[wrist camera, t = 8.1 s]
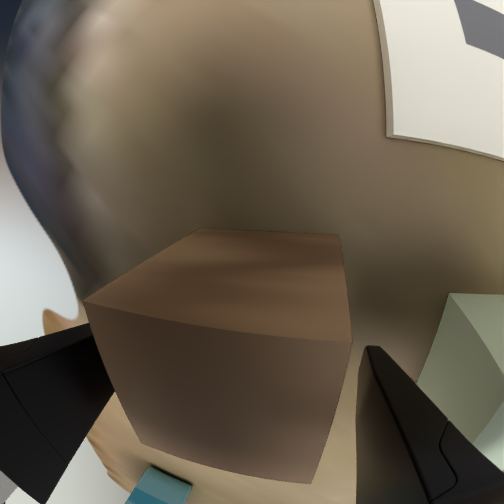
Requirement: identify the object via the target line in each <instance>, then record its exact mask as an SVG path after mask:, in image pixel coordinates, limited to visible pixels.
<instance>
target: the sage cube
mask: <svg viewBox="0 0 504 504" xmlns="http://www.w3.org/2000/svg"><path fill="white" fill-rule="evenodd" d="M416 384H417V385H418V387H419V388H420V389H421V390H422V391H423V392H424V393H425V394H426V395H427V396H428V397H429V398H430V399H431V400H432V402H433V403H434V404H435V405H436V406H437V407H438V408H439V409H440V410H441V411H442V412H443V414H444V415H445V416H446V417H447V418H448V421H449V420H450V421H451V422H452V423H453V424H454V425H455V427H456V428H457V429H458V430H459V431H460V432H461V433H462V434H463V435H464V436H465V437H466V438H467V439H468V440H469V441H470V442H471V443H472V444H473V445H474V446H475V447H476V448H477V449H478V450H479V451H480V452H481V453H482V454H483V455H485V456H486V457H487V458H488V459H489V460H490V461H491V462H492V463H494V464H495V465H496V466H497V467H498V468H499V469H500V470H504V295H495V294H463V293H449V294H448V298H447V302H446V305H445V308H444V312H443V315H442V318H441V321H440V324H439V327H438V330H437V333H436V336H435V339H434V342H433V344H432V347H431V350H430V352H429V355H428V357H427V360H426V362H425V365H424V367H423V369H422V372H421V374H420V376H419V379H418V381H417V383H416Z"/></svg>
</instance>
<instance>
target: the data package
mask: <svg viewBox="0 0 504 504" xmlns="http://www.w3.org/2000/svg"><path fill="white" fill-rule="evenodd" d="M191 489H192V486H191V485H189V484H187V483H184V482H182V481H180V480H177V479H175V478H173V477H171V476H169V475H167V474H165V473H163V472H161V471H159V470H157V469H155V468H153V467H149V468H148V469H147V470H146V471H145V473H144V474H143V476H142V477H141V479H140V481H139V482H138V484H137V485H136V487H135V488H134V490H133V492H132V493H131V495H130V496H129V498H128V499H127V501H126V502H125V504H184V503H185V501H186V499H187V497H188V495H189V493H190V491H191Z"/></svg>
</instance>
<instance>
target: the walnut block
mask: <svg viewBox="0 0 504 504" xmlns="http://www.w3.org/2000/svg"><path fill="white" fill-rule="evenodd" d="M83 304H84V307H85V311H86V314H87V317H88V321H89V324H90V327H91V330H92V333H93V336H94V339H95V342H96V345H97V347H98V350H99V353H100V355H101V358H102V361H103V363H104V366H105V368H106V371H107V373H108V376H109V378H110V380H111V383H112V385H113V387H114V390H115V392H116V394H117V396H118V399H119V401H120V403H121V405H122V407H123V409H124V411H125V413H126V415H127V417H128V419H129V421H130V423H131V425H132V427H133V429H134V431H135V432H136V434H137V436H138V438H139V440H140V442H141V443H142V444H145V445H147V446H150V447H152V448H155V449H157V450H160V451H163V452H165V453H168V454H171V455H174V456H177V457H180V458H183V459H186V460H189V461H192V462H195V463H199V464H202V465H206V466H209V467H213V468H217V469H221V470H225V471H229V472H233V473H238V474H243V475H248V476H253V477H258V478H264V479H271V480H278V481H285V482H294V483H304V484H311V483H312V480H313V478H314V475H315V472H316V470H317V467H318V464H319V461H320V459H321V456H322V453H323V450H324V447H325V444H326V441H327V438H328V435H329V432H330V428H331V425H332V422H333V419H334V415H335V412H336V408H337V405H338V401H339V397H340V393H341V390H342V386H343V382H344V378H345V374H346V369H347V365H348V361H349V356H350V351H351V347H352V331H351V321H350V311H349V302H348V294H347V286H346V278H345V271H344V264H343V258H342V251H341V245H340V239H339V235H334V234H316V233H297V232H276V231H253V230H227V229H198V230H196V231H194V232H193V233H191V234H189V235H187V236H186V237H184V238H182V239H181V240H179V241H177V242H176V243H174V244H172V245H170V246H169V247H167V248H165V249H164V250H162V251H160V252H159V253H157V254H155V255H154V256H152V257H151V258H149V259H147V260H146V261H144V262H142V263H141V264H139V265H138V266H136V267H134V268H133V269H131V270H129V271H128V272H126V273H125V274H123V275H122V276H120V277H118V278H117V279H115V280H114V281H112V282H111V283H109V284H107V285H106V286H104V287H103V288H101V289H100V290H98V291H97V292H95V293H94V294H92V295H91V296H89V297H87V298H86V299H84V300H83Z"/></svg>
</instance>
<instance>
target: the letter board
mask: <svg viewBox="0 0 504 504" xmlns="http://www.w3.org/2000/svg"><path fill="white" fill-rule="evenodd" d="M373 2H374V7H375V12H376V18H377V24H378V30H379V37H380V44H381V52H382V61H383V71H384V83H385V100H386V137H390V138H397V139H404V140H411V141H417V142H423V143H429V144H434V145H439V146H444V147H449V148H454V149H459V150H463V151H467V152H471V153H475V154H479V155H483V156H487V157H491V158H494V159H498V160H501V161H504V0H373Z"/></svg>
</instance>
